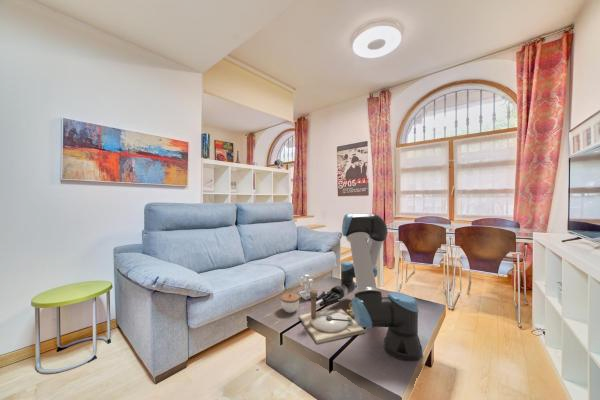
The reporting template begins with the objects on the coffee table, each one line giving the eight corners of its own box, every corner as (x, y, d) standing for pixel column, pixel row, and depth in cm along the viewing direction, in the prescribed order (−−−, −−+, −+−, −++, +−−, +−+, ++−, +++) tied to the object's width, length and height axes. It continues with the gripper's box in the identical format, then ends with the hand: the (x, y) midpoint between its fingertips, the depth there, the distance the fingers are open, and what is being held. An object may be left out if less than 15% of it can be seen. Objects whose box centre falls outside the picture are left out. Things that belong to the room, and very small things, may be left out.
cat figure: (354, 323, 127) (391, 310, 136) (353, 307, 126) (390, 295, 136) (344, 314, 136) (379, 303, 146) (343, 299, 136) (378, 289, 145)
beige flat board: (364, 332, 115) (364, 329, 115) (317, 343, 107) (317, 339, 107) (340, 310, 138) (340, 307, 138) (299, 317, 129) (299, 314, 129)
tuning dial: (350, 314, 130) (350, 287, 129) (351, 334, 111) (351, 302, 111) (312, 311, 133) (312, 284, 133) (307, 329, 115) (307, 299, 114)
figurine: (316, 298, 154) (316, 275, 154) (304, 301, 149) (304, 277, 149) (309, 294, 160) (309, 272, 160) (297, 297, 155) (297, 274, 155)
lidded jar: (292, 316, 131) (292, 299, 131) (277, 311, 137) (277, 295, 136) (302, 308, 140) (302, 292, 140) (287, 304, 146) (287, 289, 145)
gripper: (348, 301, 139) (325, 317, 121) (329, 295, 147) (305, 309, 129) (348, 288, 138) (325, 302, 120) (329, 283, 147) (305, 295, 129)
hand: (315, 306), depth 125 cm, fingers closed
